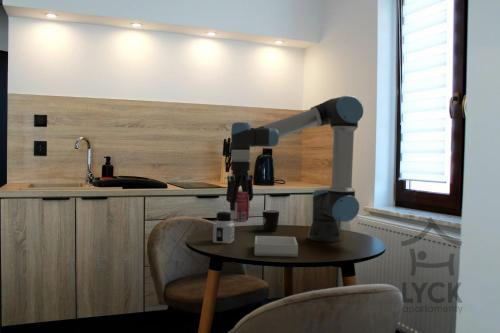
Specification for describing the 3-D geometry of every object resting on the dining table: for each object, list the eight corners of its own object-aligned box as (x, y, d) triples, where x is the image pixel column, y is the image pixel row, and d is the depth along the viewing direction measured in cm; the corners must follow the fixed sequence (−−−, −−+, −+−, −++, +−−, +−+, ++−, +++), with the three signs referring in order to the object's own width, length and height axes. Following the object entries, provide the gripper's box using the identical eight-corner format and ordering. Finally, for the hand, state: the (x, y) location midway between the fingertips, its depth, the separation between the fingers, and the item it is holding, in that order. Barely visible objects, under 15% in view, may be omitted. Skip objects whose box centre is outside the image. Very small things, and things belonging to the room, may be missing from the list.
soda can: (238, 219, 190) (238, 190, 189) (252, 221, 186) (252, 191, 185) (227, 221, 184) (227, 191, 184) (241, 223, 180) (241, 193, 179)
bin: (294, 247, 192) (295, 237, 192) (297, 256, 175) (297, 245, 175) (255, 246, 192) (255, 235, 192) (254, 255, 176) (254, 243, 176)
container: (229, 243, 197) (230, 213, 196) (212, 242, 198) (213, 212, 198) (234, 240, 204) (234, 211, 204) (217, 239, 206) (218, 210, 206)
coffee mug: (279, 232, 227) (279, 212, 226) (262, 232, 227) (262, 212, 227) (278, 228, 238) (278, 209, 238) (261, 228, 239) (262, 209, 238)
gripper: (248, 160, 194) (247, 214, 195) (216, 161, 178) (216, 219, 179) (262, 160, 190) (261, 215, 190) (231, 161, 174) (231, 221, 175)
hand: (239, 217), depth 185 cm, fingers closed on soda can, 7 cm apart
